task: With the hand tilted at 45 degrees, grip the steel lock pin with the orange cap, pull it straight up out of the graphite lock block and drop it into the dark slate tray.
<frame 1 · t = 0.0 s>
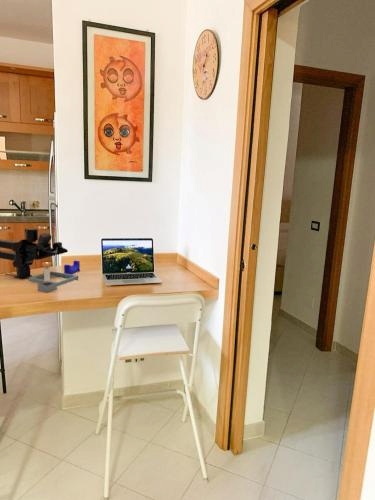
hand: (61, 252, 189), 17 cm above the table, tool horizontal, fingers open, 9 cm apart
lock block: (47, 292, 178), on the table
cable clip: (70, 273, 214), on the table
lock pin: (47, 289, 178), point 1 cm above the table, touching lock block
tray: (54, 282, 195), on the table
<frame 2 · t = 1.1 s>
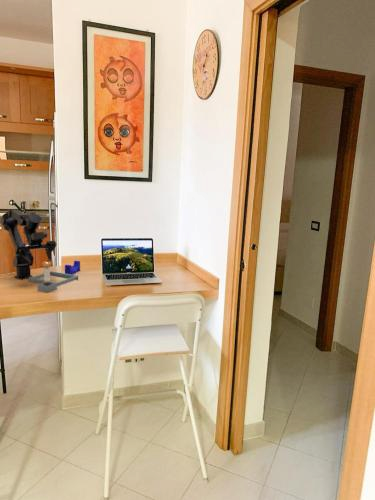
hand: (40, 261, 181), 14 cm above the table, tool tilted 45°, fingers open, 9 cm apart
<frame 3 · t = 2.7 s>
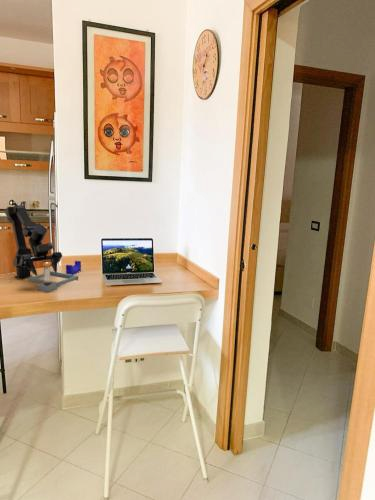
hand: (46, 273, 177), 9 cm above the table, tool tilted 45°, fingers open, 9 cm apart
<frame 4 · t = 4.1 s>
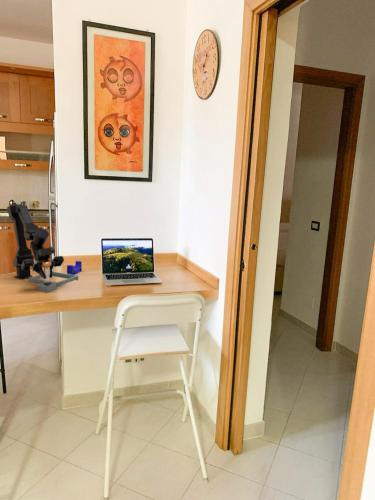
hand: (48, 278, 175), 8 cm above the table, tool tilted 45°, fingers closed on lock pin, 3 cm apart
lock pin: (47, 289, 178), point 1 cm above the table, touching gripper, lock block
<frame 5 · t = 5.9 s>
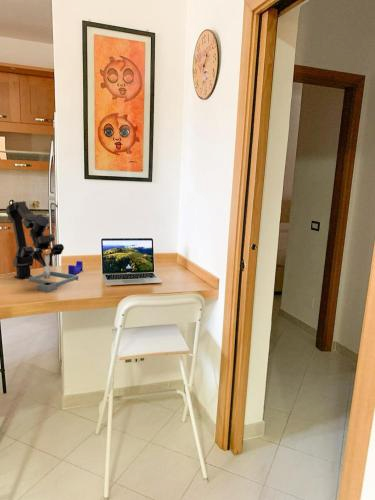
hand: (47, 265, 174), 13 cm above the table, tool tilted 45°, fingers closed on lock pin, 3 cm apart
lock pin: (47, 277, 176), point 7 cm above the table, touching gripper
when the fingers open (10 cm above the table, at t = 8.1 s): lock pin drops 3 cm, resting on tray.
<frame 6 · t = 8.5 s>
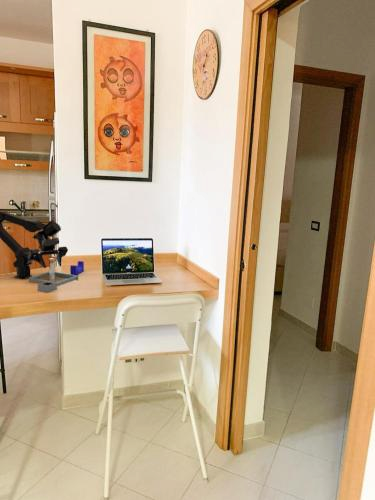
hand: (53, 266, 188), 10 cm above the table, tool tilted 45°, fingers open, 7 cm apart
lock pin: (52, 283, 191), point 1 cm above the table, touching tray
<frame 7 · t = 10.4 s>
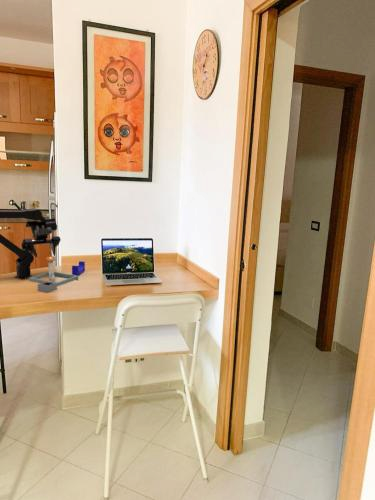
hand: (45, 255, 194), 14 cm above the table, tool tilted 45°, fingers open, 9 cm apart
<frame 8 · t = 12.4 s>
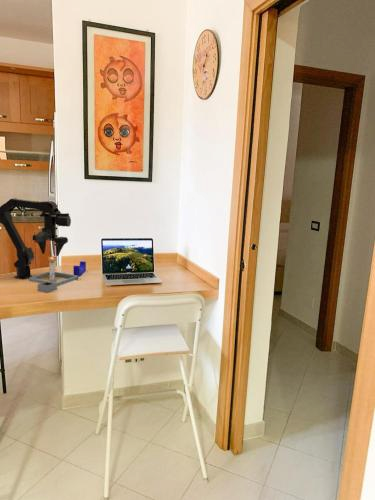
hand: (50, 254, 198), 13 cm above the table, tool pointing down, fingers open, 9 cm apart
at the end: lock pin inside the target area on the tray (3.8 cm from its centre), point 0.6 cm above the tray's base; the gripper is holding nothing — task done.
